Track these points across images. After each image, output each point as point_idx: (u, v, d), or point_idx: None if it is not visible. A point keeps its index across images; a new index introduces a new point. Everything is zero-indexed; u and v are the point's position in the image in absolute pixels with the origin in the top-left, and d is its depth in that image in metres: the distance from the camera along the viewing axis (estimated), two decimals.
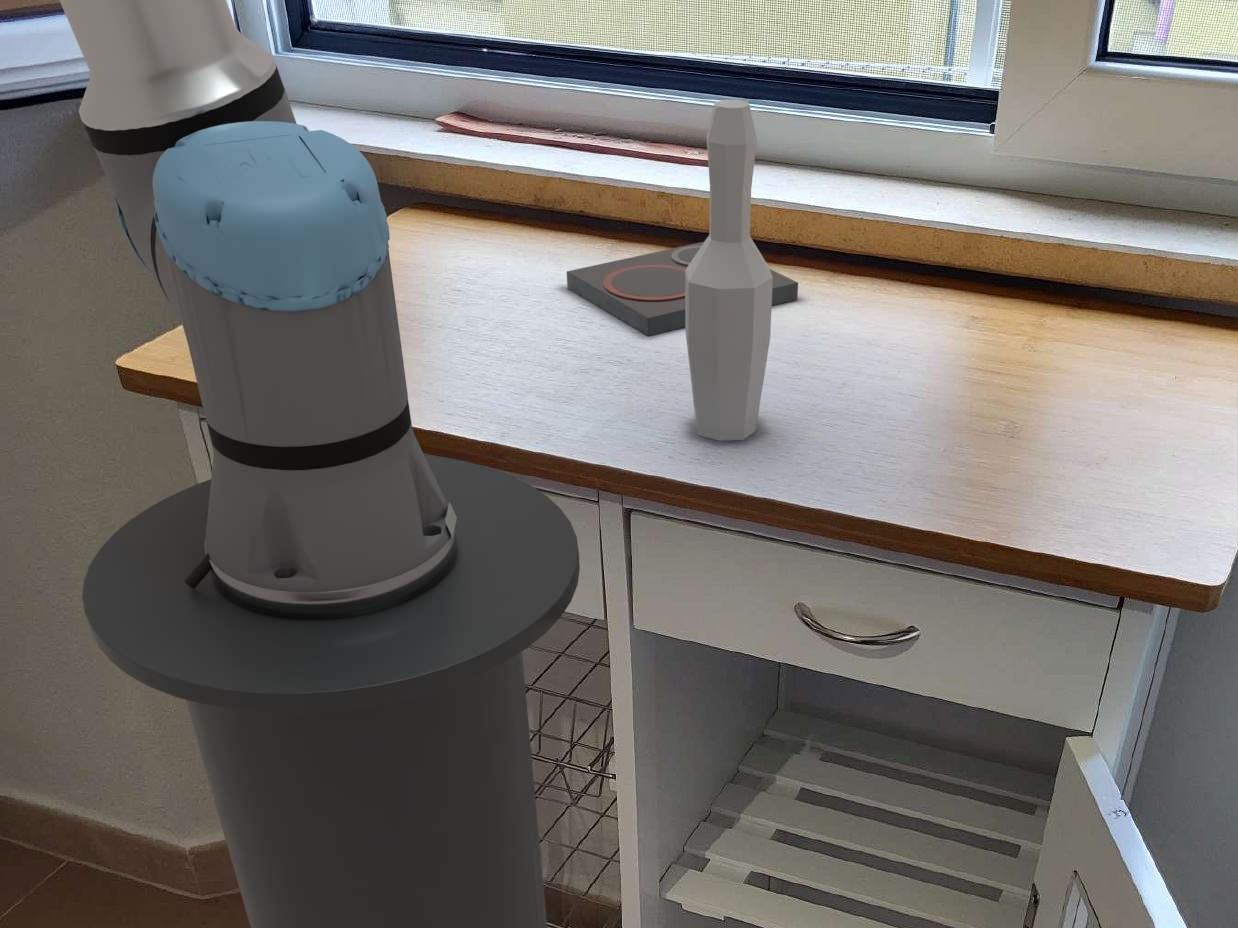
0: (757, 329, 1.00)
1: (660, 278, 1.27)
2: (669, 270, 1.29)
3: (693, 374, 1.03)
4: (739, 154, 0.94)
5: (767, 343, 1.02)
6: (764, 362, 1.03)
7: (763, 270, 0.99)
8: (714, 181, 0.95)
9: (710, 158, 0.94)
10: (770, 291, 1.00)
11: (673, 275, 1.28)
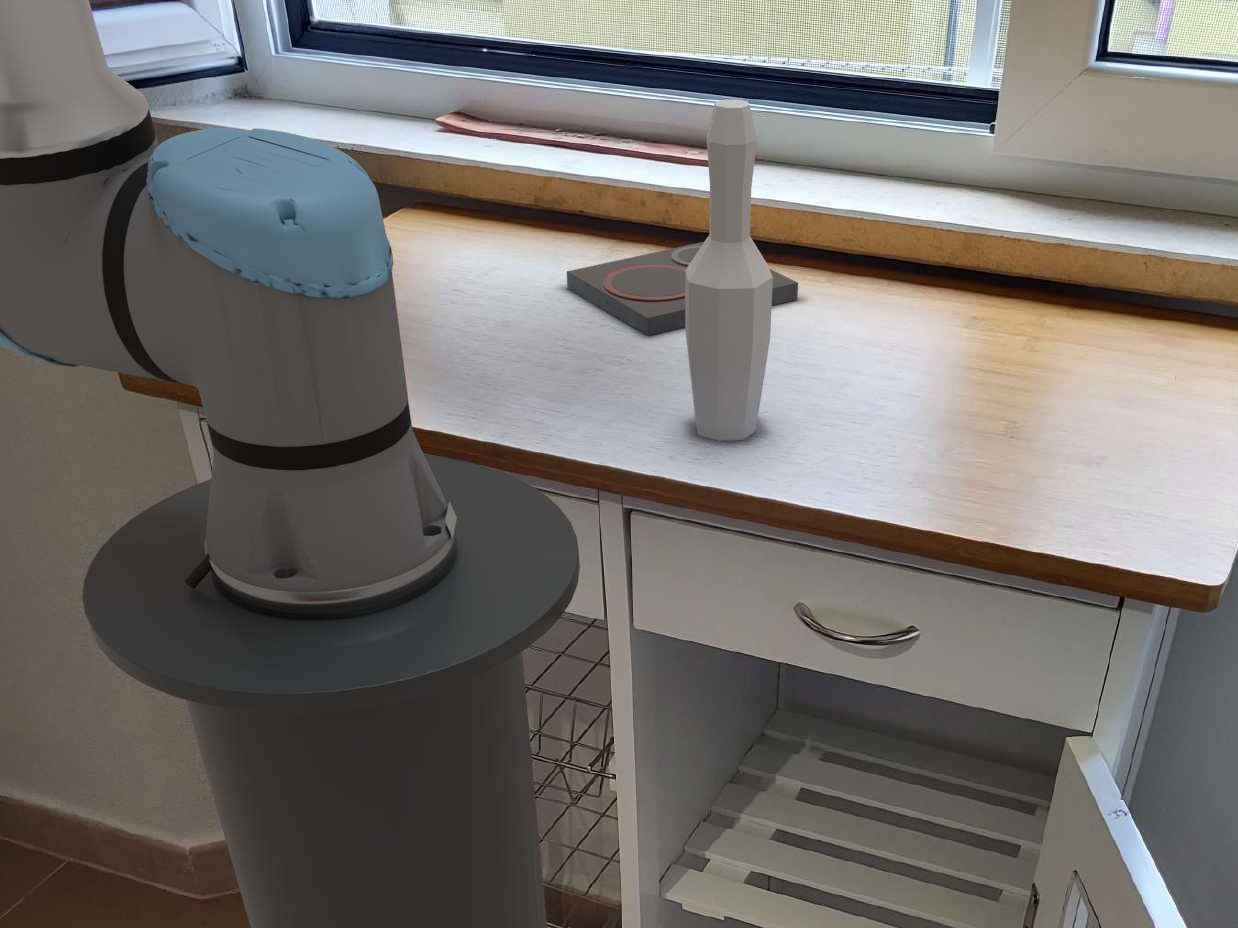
0: (757, 329, 1.00)
1: (660, 278, 1.27)
2: (669, 270, 1.29)
3: (693, 374, 1.03)
4: (739, 154, 0.94)
5: (767, 343, 1.02)
6: (764, 362, 1.03)
7: (763, 270, 0.99)
8: (714, 181, 0.95)
9: (710, 158, 0.94)
10: (770, 291, 1.00)
11: (673, 275, 1.28)
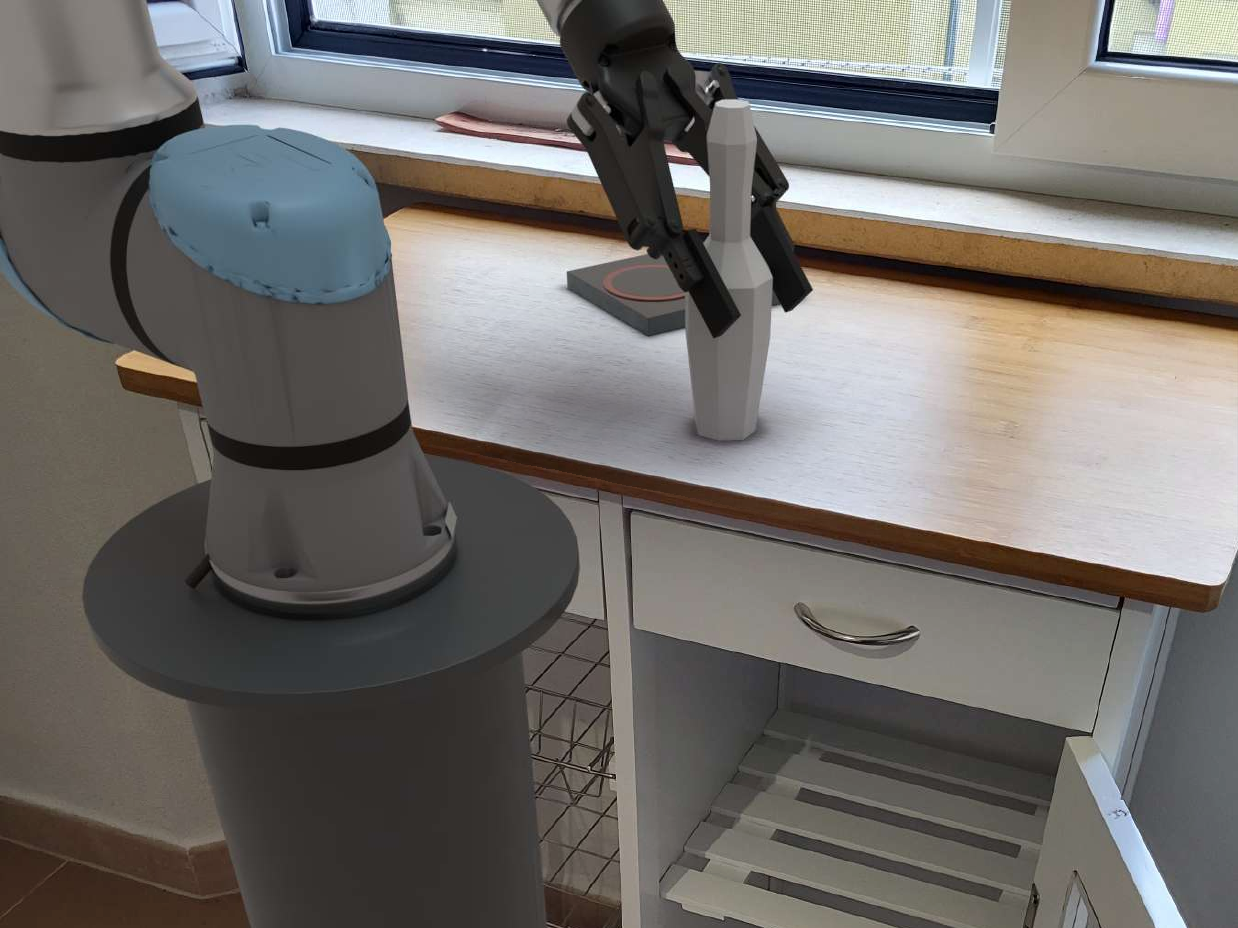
0: (757, 330, 1.00)
1: (660, 278, 1.27)
2: (669, 270, 1.29)
3: (693, 374, 1.03)
4: (739, 154, 0.94)
5: (767, 343, 1.02)
6: (764, 362, 1.03)
7: (763, 270, 0.99)
8: (714, 181, 0.95)
9: (710, 158, 0.94)
10: (770, 291, 1.00)
11: None
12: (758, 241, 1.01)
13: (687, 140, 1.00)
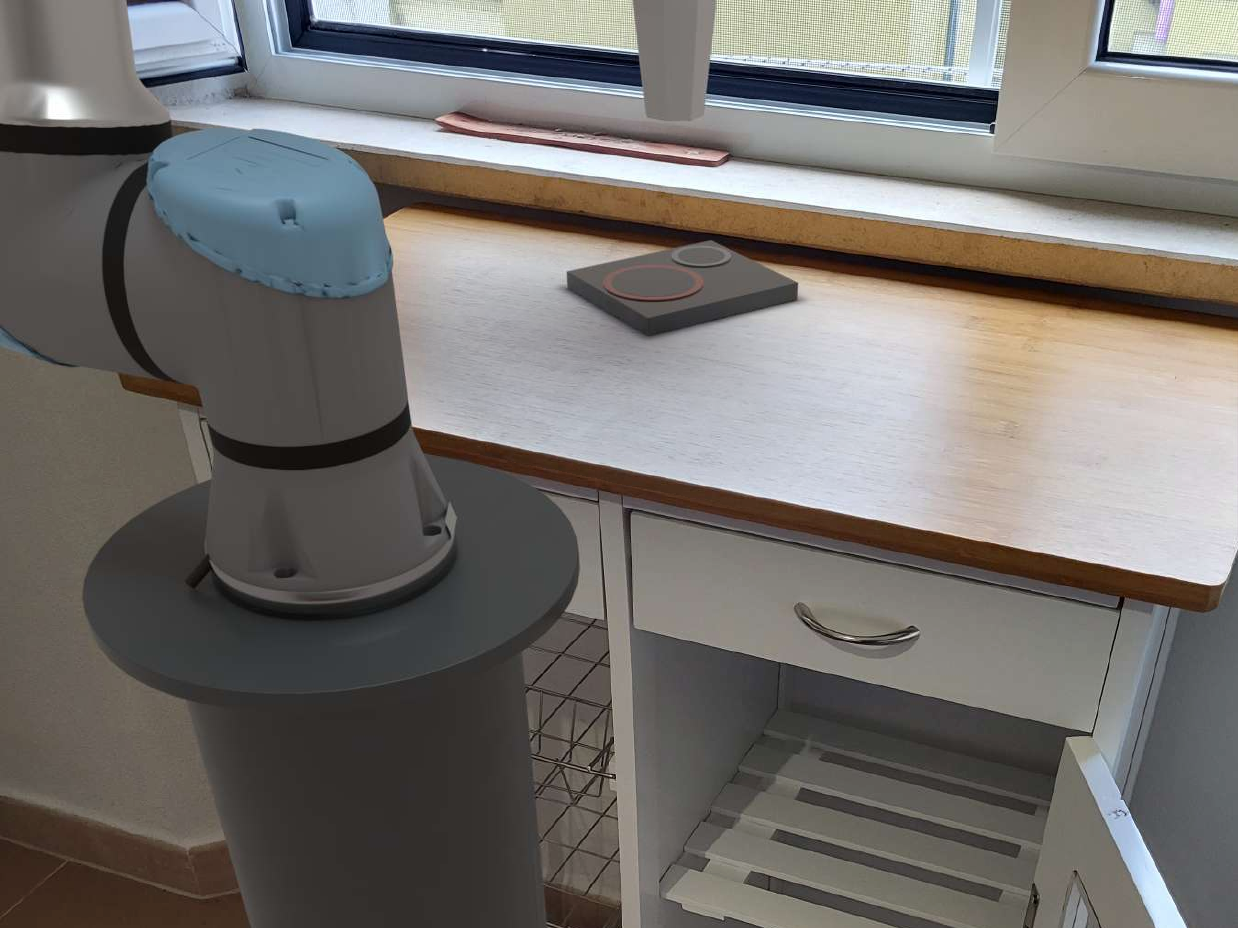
0: None
1: (660, 278, 1.27)
2: (669, 270, 1.29)
3: (640, 47, 1.05)
4: None
5: (713, 14, 1.04)
6: (710, 36, 1.05)
7: None
8: None
9: None
10: None
11: (673, 275, 1.28)
12: None
13: None
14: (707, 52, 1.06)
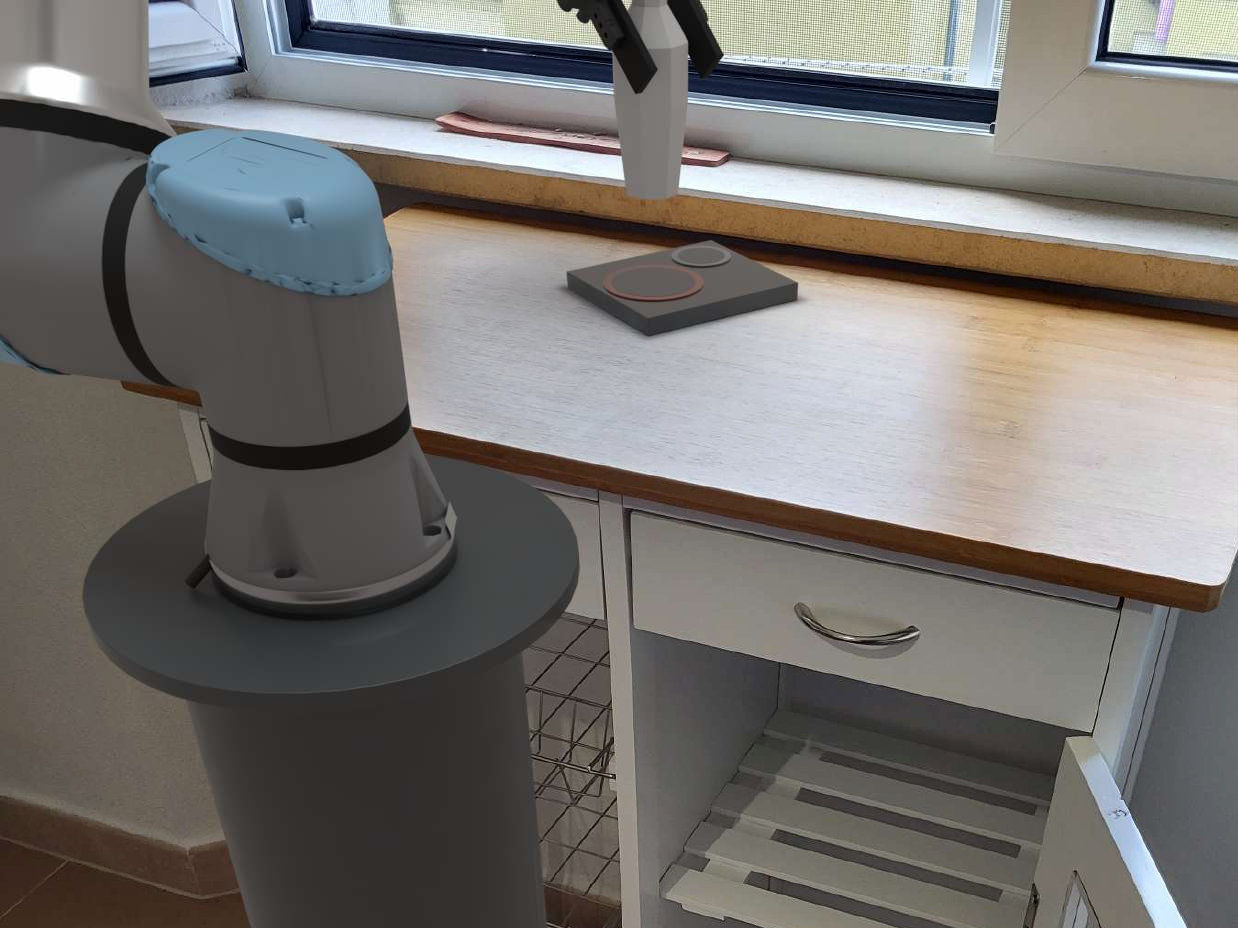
0: (675, 90, 1.14)
1: (660, 278, 1.27)
2: (669, 270, 1.29)
3: (620, 135, 1.17)
4: None
5: (685, 106, 1.16)
6: (683, 125, 1.17)
7: (679, 35, 1.13)
8: None
9: None
10: (686, 55, 1.14)
11: (673, 275, 1.28)
12: (676, 13, 1.15)
13: None
14: (680, 139, 1.18)
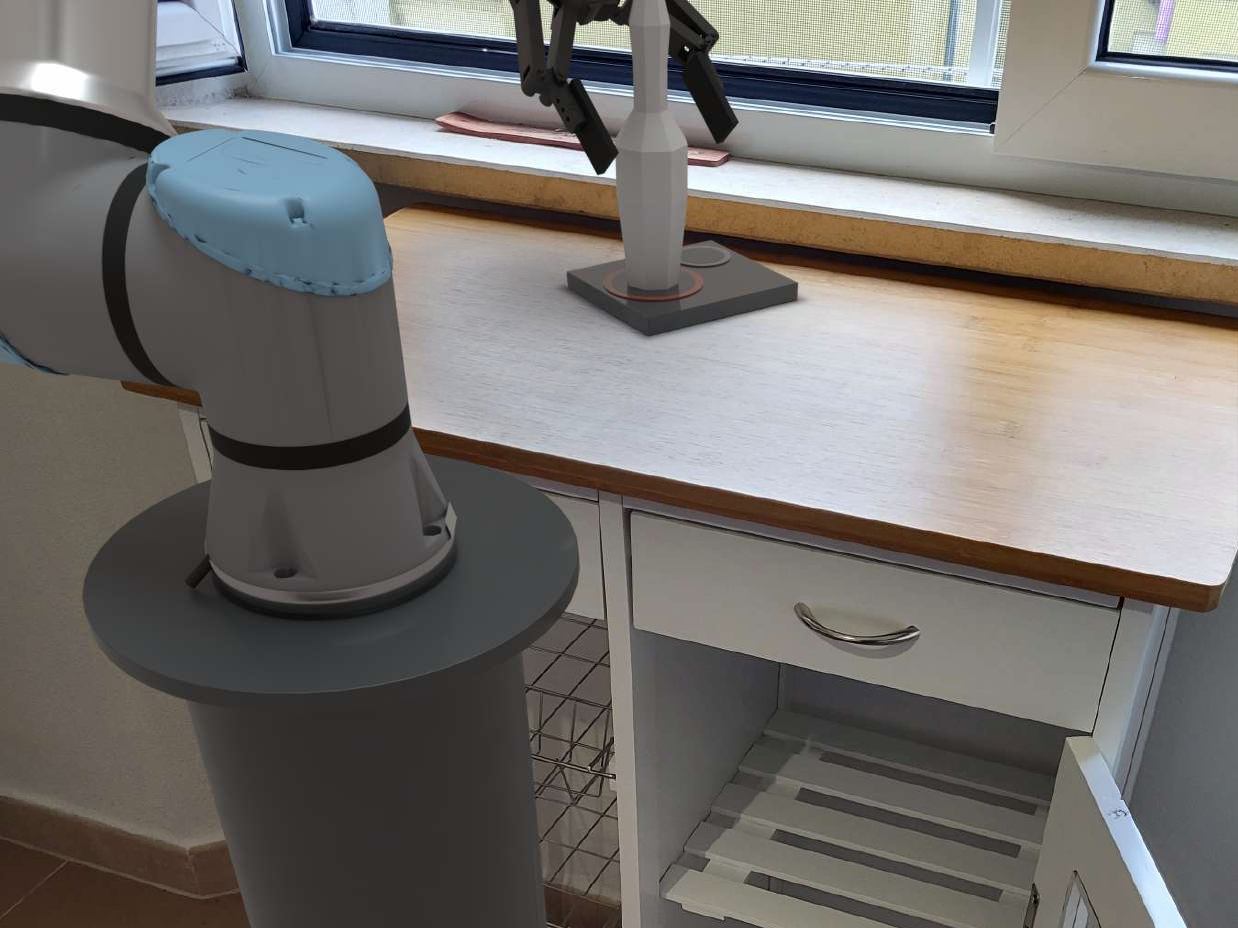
0: (675, 189, 1.19)
1: None
2: None
3: (623, 230, 1.22)
4: (655, 34, 1.12)
5: (685, 203, 1.21)
6: (683, 220, 1.22)
7: (679, 138, 1.18)
8: (635, 59, 1.14)
9: (631, 39, 1.13)
10: (686, 156, 1.19)
11: None
12: (693, 82, 1.21)
13: (624, 15, 1.19)
14: (680, 233, 1.23)
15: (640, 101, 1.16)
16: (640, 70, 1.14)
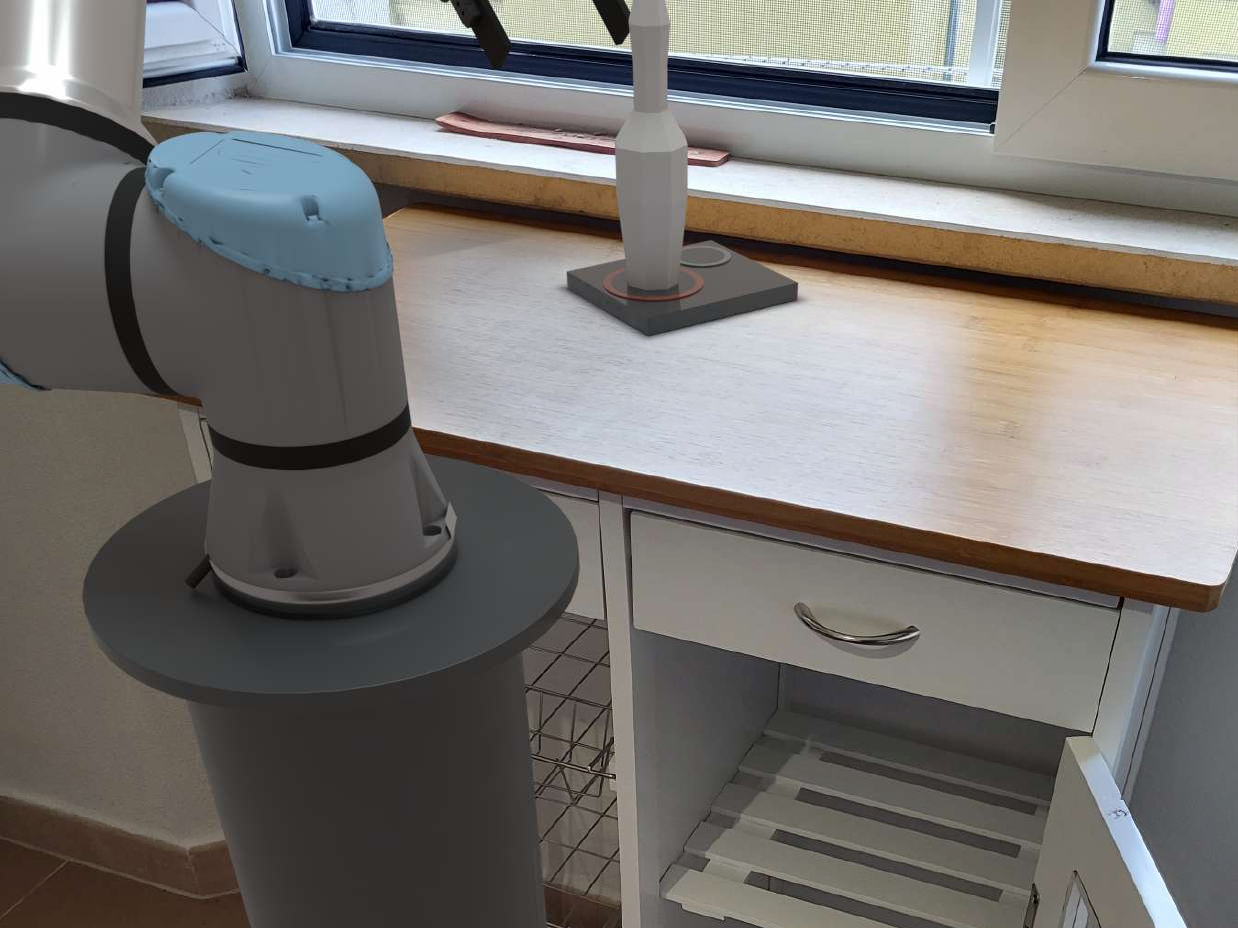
0: (675, 189, 1.19)
1: None
2: None
3: (623, 230, 1.22)
4: (655, 34, 1.12)
5: (685, 203, 1.21)
6: (683, 220, 1.22)
7: (679, 138, 1.18)
8: (635, 59, 1.14)
9: (631, 39, 1.13)
10: (686, 156, 1.19)
11: None
12: None
13: None
14: (680, 233, 1.23)
15: (640, 101, 1.16)
16: (640, 70, 1.14)
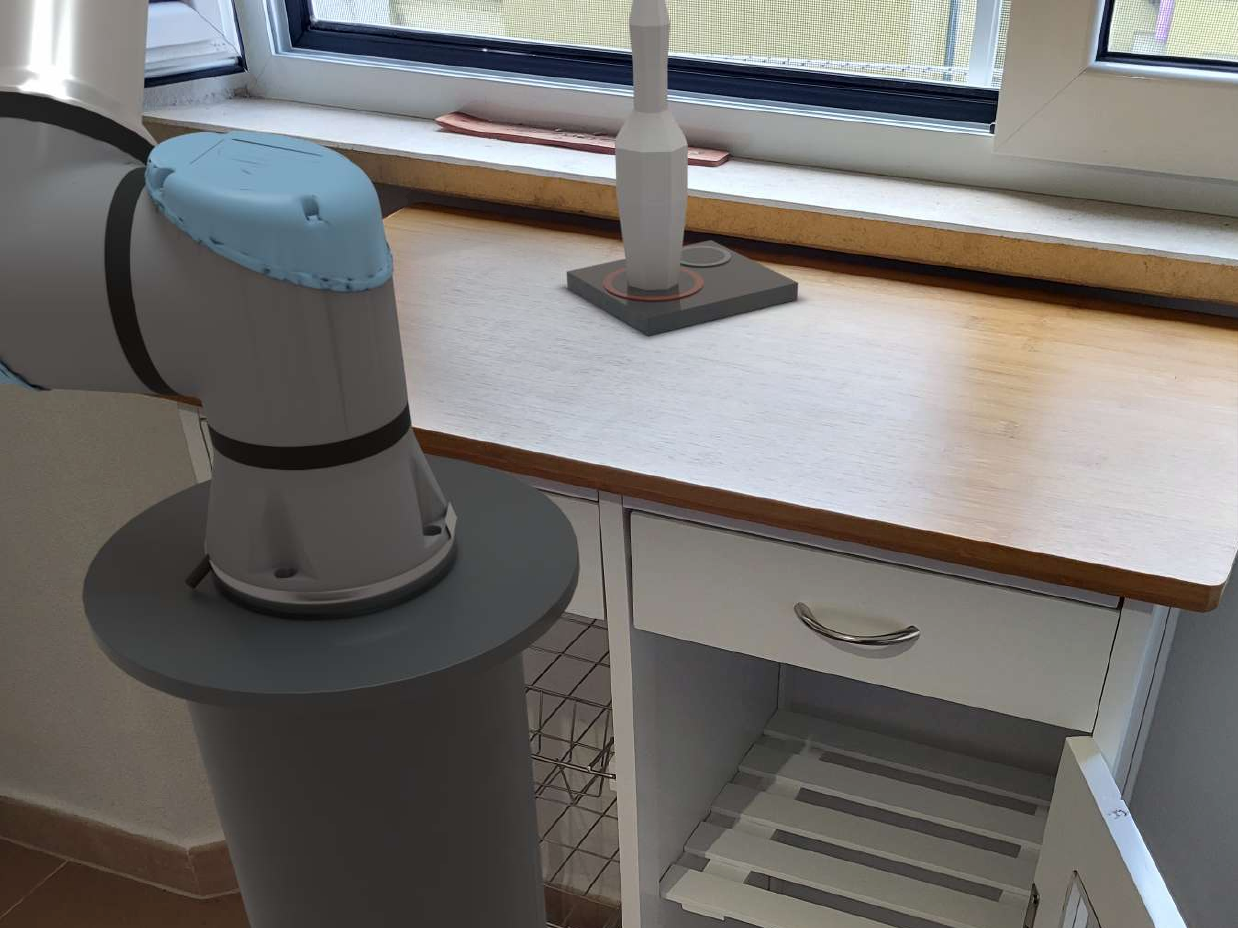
0: (675, 189, 1.19)
1: None
2: None
3: (623, 230, 1.22)
4: (655, 34, 1.12)
5: (685, 203, 1.21)
6: (683, 220, 1.22)
7: (679, 138, 1.18)
8: (635, 59, 1.14)
9: (631, 39, 1.13)
10: (686, 156, 1.19)
11: None
12: None
13: None
14: (680, 233, 1.23)
15: (640, 101, 1.16)
16: (640, 70, 1.14)
